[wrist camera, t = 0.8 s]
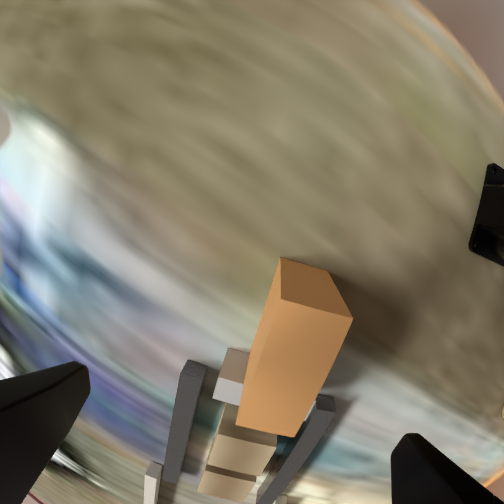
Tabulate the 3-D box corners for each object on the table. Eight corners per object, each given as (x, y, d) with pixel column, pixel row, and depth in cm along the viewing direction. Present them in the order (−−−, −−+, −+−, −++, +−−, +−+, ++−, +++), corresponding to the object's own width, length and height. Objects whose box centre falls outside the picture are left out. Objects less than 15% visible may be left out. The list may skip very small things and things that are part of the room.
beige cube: (278, 410, 21) (276, 447, 17) (262, 441, 21) (259, 476, 18) (227, 397, 21) (217, 433, 17) (216, 429, 22) (207, 464, 18)
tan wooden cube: (259, 447, 22) (255, 482, 18) (247, 470, 23) (242, 502, 19) (214, 436, 22) (204, 470, 18) (206, 460, 23) (197, 491, 19)
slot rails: (333, 397, 20) (336, 412, 18) (271, 493, 23) (270, 506, 21) (187, 359, 20) (180, 373, 18) (166, 467, 23) (162, 479, 22)
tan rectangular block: (349, 277, 18) (385, 326, 11) (302, 388, 20) (308, 461, 13) (256, 250, 18) (242, 287, 11) (222, 367, 20) (199, 437, 13)
